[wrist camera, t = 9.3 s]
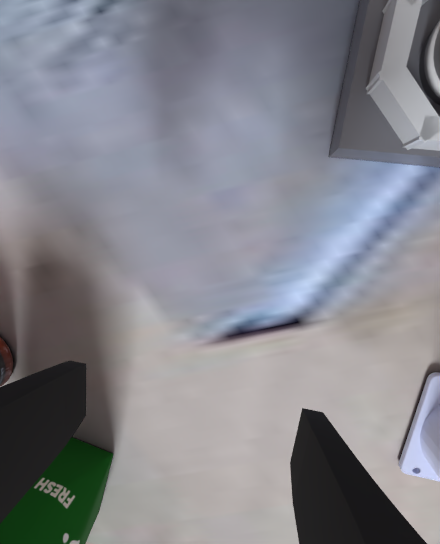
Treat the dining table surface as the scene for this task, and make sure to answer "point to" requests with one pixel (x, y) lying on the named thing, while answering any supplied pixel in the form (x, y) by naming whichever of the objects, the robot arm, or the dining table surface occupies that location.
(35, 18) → the dining table surface
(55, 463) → the milk carton
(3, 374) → the supplement bottle
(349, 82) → the grey base plate
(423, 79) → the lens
